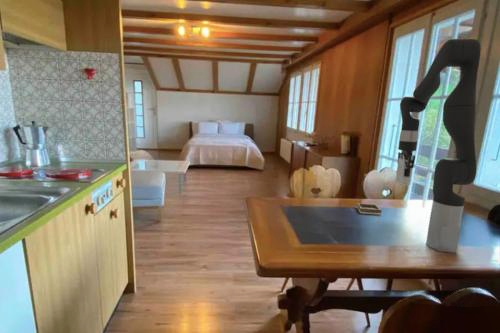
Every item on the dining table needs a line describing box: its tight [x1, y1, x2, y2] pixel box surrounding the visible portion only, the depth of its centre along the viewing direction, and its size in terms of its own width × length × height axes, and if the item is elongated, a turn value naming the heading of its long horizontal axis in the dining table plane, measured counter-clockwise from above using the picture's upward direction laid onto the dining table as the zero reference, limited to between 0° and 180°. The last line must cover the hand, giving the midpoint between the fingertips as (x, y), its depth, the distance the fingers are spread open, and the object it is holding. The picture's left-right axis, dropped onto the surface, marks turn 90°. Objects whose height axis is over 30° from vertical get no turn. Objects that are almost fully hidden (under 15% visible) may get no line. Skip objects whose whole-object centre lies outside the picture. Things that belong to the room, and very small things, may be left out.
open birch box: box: [356, 202, 382, 216], centre depth 141 cm, size 9×10×2 cm
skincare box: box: [395, 158, 413, 186], centre depth 133 cm, size 6×4×12 cm
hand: (403, 175), depth 133 cm, fingers closed on skincare box, 6 cm apart
